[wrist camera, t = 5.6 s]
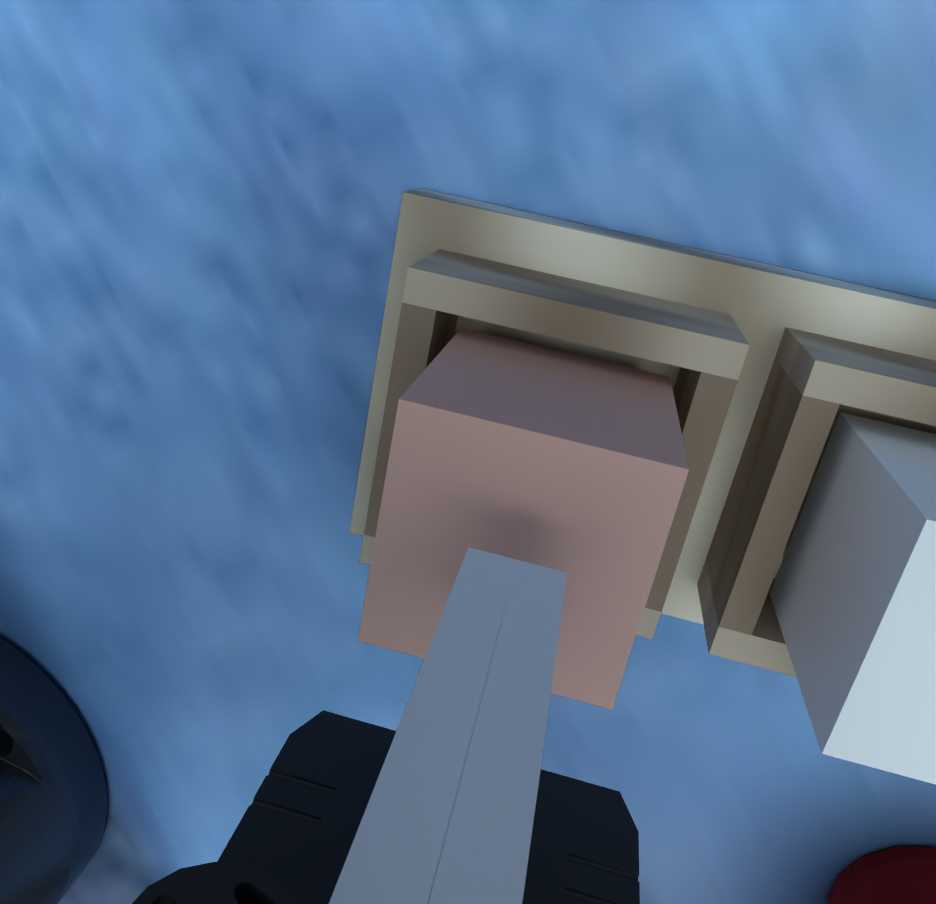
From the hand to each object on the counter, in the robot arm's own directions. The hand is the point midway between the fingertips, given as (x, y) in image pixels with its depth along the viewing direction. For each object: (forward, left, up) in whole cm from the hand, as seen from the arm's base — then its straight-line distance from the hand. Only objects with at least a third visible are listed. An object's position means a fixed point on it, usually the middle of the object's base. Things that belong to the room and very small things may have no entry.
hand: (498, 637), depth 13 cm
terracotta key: (0, 0, -9) cm, 9 cm away
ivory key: (+9, 0, -9) cm, 13 cm away
